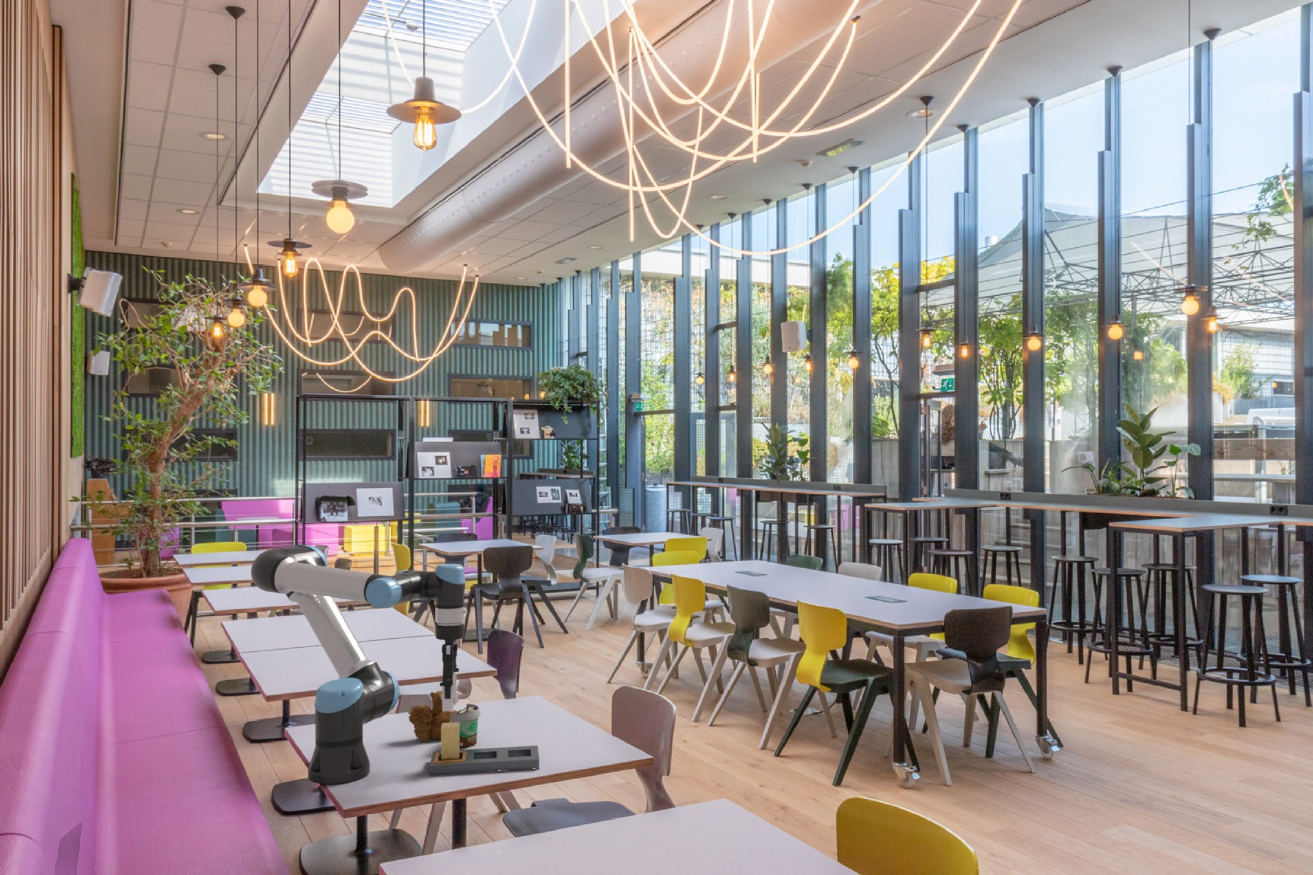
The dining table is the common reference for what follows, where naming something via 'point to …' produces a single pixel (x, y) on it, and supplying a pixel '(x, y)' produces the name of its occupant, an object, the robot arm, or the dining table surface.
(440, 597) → the robot arm
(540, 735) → the dining table surface
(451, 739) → the brass post
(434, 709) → the stuffed squirrel
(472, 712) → the food container
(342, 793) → the dining table surface
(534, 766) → the grey slotted tray
